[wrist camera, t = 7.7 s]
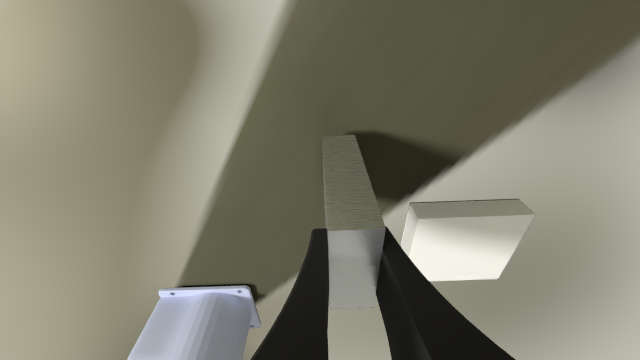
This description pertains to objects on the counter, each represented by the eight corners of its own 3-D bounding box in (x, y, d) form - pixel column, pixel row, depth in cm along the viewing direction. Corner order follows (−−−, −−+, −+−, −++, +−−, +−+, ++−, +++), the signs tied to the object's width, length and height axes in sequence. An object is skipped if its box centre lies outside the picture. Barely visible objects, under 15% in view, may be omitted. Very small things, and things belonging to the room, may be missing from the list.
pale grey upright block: (324, 200, 18) (329, 309, 11) (322, 136, 15) (328, 231, 9) (351, 199, 18) (373, 307, 11) (354, 135, 15) (385, 228, 9)
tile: (402, 282, 24) (498, 278, 24) (418, 218, 19) (535, 214, 19) (395, 262, 25) (484, 259, 25) (408, 200, 21) (516, 196, 21)
